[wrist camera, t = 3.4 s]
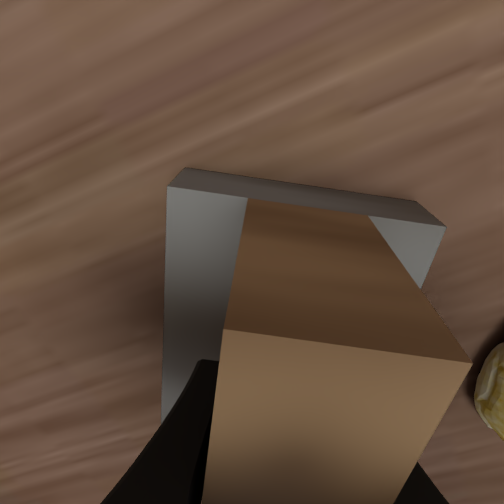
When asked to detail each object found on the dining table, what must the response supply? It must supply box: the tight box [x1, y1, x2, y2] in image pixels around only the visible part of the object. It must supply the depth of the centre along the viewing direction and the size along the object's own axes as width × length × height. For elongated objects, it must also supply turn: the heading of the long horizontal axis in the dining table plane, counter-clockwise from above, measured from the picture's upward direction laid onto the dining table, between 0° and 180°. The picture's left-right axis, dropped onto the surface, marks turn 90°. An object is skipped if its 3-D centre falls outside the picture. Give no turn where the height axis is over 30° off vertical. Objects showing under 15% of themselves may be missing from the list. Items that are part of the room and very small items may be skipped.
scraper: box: [161, 168, 473, 504], centre depth 9 cm, size 10×7×7 cm
